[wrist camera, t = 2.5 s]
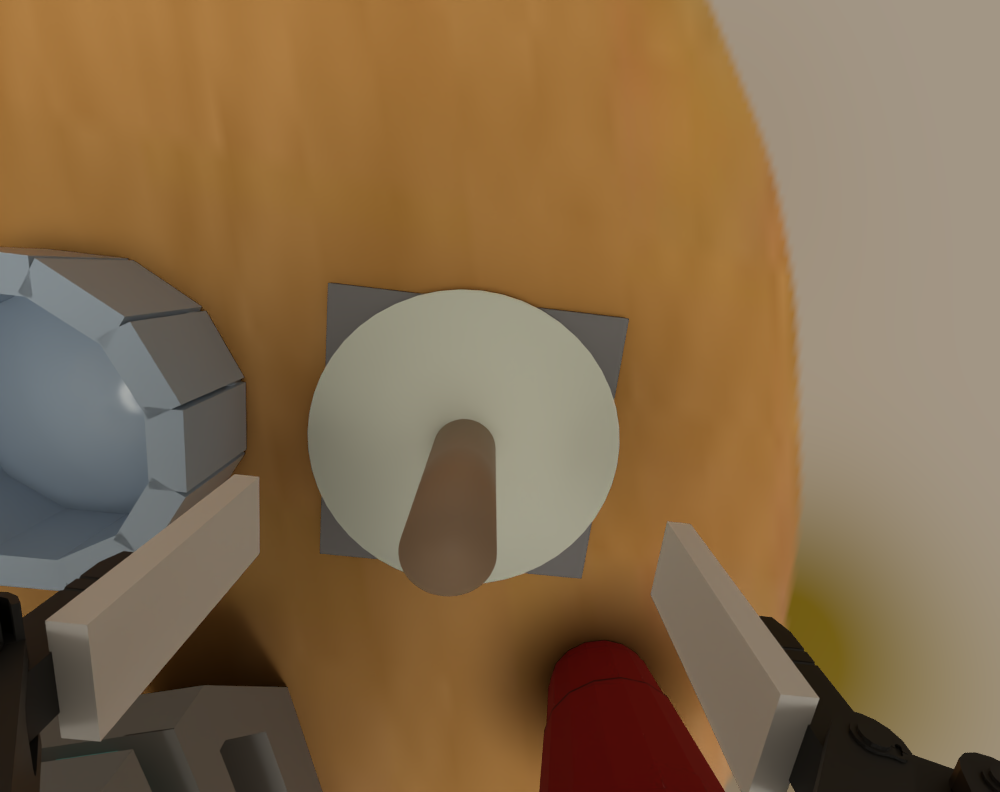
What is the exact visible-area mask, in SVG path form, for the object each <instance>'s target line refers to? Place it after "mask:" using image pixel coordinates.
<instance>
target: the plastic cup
mask: <svg viewBox="0 0 1000 792" xmlns="http://www.w3.org/2000/svg"><path fill="white" fill-rule="evenodd" d="M539 792H725V791H724V789H723V788H722V786H721V784H720V783H719V781H718V779H717V778H716V776H715V775H714V773H713V771H712V770H711V768H710V766H709V765H708V763H707V761H706V760H705V758H704V756H703V755H702V753H701V751H700V750H699V748H698V747H697V745H696V743H695V742H694V740H693V738H692V737H691V735H690V733H689V732H688V730H687V728H686V727H685V725H684V723H683V722H682V720H681V719H680V717H679V715H678V714H677V712H676V710H675V709H674V707H673V705H672V704H671V702H670V700H669V699H668V697H667V696H666V695H665V694H663V693H662V691H661V689H660V688H659V686H658V684H657V683H656V681H655V679H654V678H653V676H652V674H651V673H650V671H649V669H648V668H647V666H646V664H645V663H644V661H643V660H641V659H640V658H639V656H638V655H637V654H636V653H635V652H633V651H632V650H630V649H629V648H627V647H626V646H624V645H623V644H619V643H614V642H610V641H605V640H603V641H594V642H586V643H583V644H581V645H579V646H577V647H575V648H573V649H571V650H569V651H568V652H567V653H566V654H565V655H564V656H563V657H562V658H561V659H560V660H559V661H558V662H557V663H556V665H555V668H554V671H553V674H552V676H551V681H550V685H549V688H548V705H547V724H546V727H545V730H544V741H543V753H542V766H541V778H540V790H539Z"/></svg>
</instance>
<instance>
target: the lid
mask: <svg viewBox="0 0 1000 792" xmlns="http://www.w3.org/2000/svg"><path fill="white" fill-rule="evenodd" d="M308 451H309V456H310V462H311V467H312V471H313V474H314V477H315V480H316V483H317V486H318V489H319V491H320V493H321V495H322V497H323V499H324V501H325V503H326V505H327V507H328V509H329V510H330V512H331V513H332V515H333V516H334V518H335V519H336V521H337V522H338V523H339V524H340V525H341V527H342V528H343V529H344V530H345V531H346V532H347V534H348V535H349V536H350V537H351V538H352V539H353V540H355V541H356V542H357V543H358V544H359V545H360V546H361V547H362V548H363V549H365V550H366V551H368V552H369V553H370V554H372V555H373V556H375V557H376V558H378V559H379V560H381V561H383V562H384V563H386V564H388V565H390V566H392V567H394V568H396V569H398V570H400V571H403V572H404V573H405V575H406V576H407V577H408V578H409V580H410V581H411V582H412V583H413V584H415V585H416V586H417V587H419V588H420V589H422V590H424V591H426V592H429V593H431V594H435V595H440V596H457V595H462V594H465V593H468V592H471V591H473V590H475V589H476V588H478V587H479V586H481V585H482V584H483V583H488V582H494V581H499V580H504V579H508V578H511V577H514V576H517V575H521V574H524V573H526V572H528V571H530V570H533V569H535V568H537V567H539V566H541V565H543V564H545V563H546V562H548V561H550V560H551V559H553V558H555V557H556V556H558V555H559V554H560V553H561V552H563V551H564V550H565V549H567V548H568V547H569V546H570V545H572V544H573V543H574V542H575V541H576V540H577V539H578V538H579V537H580V536H581V534H582V533H583V532H584V531H585V530H586V529H587V528H588V526H589V525H590V524H591V522H592V521H593V520H594V518H595V517H596V516H597V514H598V512H599V510H600V509H601V507H602V505H603V503H604V502H605V500H606V497H607V495H608V492H609V490H610V488H611V485H612V483H613V479H614V475H615V471H616V467H617V462H618V454H619V423H618V417H617V411H616V406H615V403H614V399H613V396H612V393H611V390H610V387H609V385H608V383H607V381H606V379H605V376H604V374H603V372H602V370H601V369H600V367H599V365H598V364H597V362H596V361H595V359H594V358H593V356H592V355H591V353H590V352H589V351H588V350H587V348H586V347H585V346H584V345H583V344H582V343H581V341H580V340H579V339H578V338H577V337H576V336H575V335H574V334H573V333H571V332H570V331H569V330H568V329H567V328H566V327H565V326H563V325H562V324H561V323H560V322H559V321H557V320H556V319H554V318H553V317H551V316H550V315H548V314H547V313H545V312H544V311H542V310H540V309H538V308H536V307H534V306H532V305H530V304H528V303H526V302H524V301H521V300H518V299H515V298H512V297H509V296H506V295H503V294H498V293H493V292H488V291H483V290H466V289H457V290H444V291H436V292H432V293H427V294H423V295H418V296H415V297H413V298H410V299H407V300H404V301H402V302H399V303H396V304H394V305H392V306H390V307H388V308H387V309H385V310H383V311H381V312H379V313H377V314H376V315H374V316H373V317H371V318H370V319H369V320H367V321H366V322H365V323H363V324H362V325H360V326H359V327H358V328H357V329H356V330H355V331H354V332H353V333H352V334H351V335H350V336H349V337H348V338H347V339H346V340H345V341H344V342H343V343H342V344H341V346H340V347H339V348H338V349H337V351H336V352H335V353H334V354H333V356H332V357H331V359H330V361H329V362H328V364H327V366H326V368H325V369H324V371H323V373H322V374H321V377H320V379H319V382H318V384H317V387H316V390H315V392H314V395H313V400H312V404H311V408H310V412H309V422H308Z"/></svg>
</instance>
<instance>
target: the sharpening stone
mask: <svg viewBox="0 0 1000 792" xmlns="http://www.w3.org/2000/svg"><path fill="white" fill-rule="evenodd" d="M40 737H41V744H42V752H41V773H40V792H322V789H321V786H320V783H319V780H318V777H317V774H316V771H315V768H314V765H313V762H312V759H311V756H310V753H309V750H308V747H307V744H306V741H305V738H304V735H303V732H302V729H301V726H300V723H299V720H298V717H297V714H296V711H295V708H294V705H293V702H292V699H291V696H290V693H289V690H288V687H258V686H215V685H202V686H196V687H189V688H182V689H175V690H169V691H162V692H155V693H148V694H142V695H139V697H138V698H137V699H136V700H135V701H134V703H133V704H132V705H131V706H130V707H129V708H128V710H127V711H126V712H125V713H124V714H123V716H122V717H121V718H120V719H119V720H118V721H117V723H116V724H115V725H114V726H113V727H112V729H111V730H110V731H109V732H108V733H107V734H106V736H105V737H104V738H103V739H102V740H101V741H100V742H99V741H88V740H77V739H67V738H61V733H60V726H59V718H58V715H57V716H56V717H55V718H54V719H53V720H52V721H51V722H50V723H49V724H48V725H47V726H46V727H45V728H44V729H43V730H42V731H41V732H40Z"/></svg>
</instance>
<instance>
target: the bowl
mask: <svg viewBox="0 0 1000 792" xmlns="http://www.w3.org/2000/svg"><path fill="white" fill-rule="evenodd" d="M201 308H202V306H200V305H199V304H197V303H196V302H194V301H193V300H191V299H190V298H188V297H187V296H186V295H184V294H183V293H181V292H180V291H178V290H177V289H175V288H174V287H172V286H171V285H169V284H168V283H166V282H165V281H163V280H162V279H160V278H159V277H157V276H156V275H154V274H153V273H151V272H150V271H148V270H147V269H145V268H144V267H142V266H141V265H140V264H138V263H137V262H135V261H133V260H128V258H120V257H112V256H103V255H95V254H87V253H78V252H70V251H61V250H53V249H37V248H16V247H0V585H1V586H12V587H23V588H34V589H45V590H56V591H60V590H64V588H65V586H67V585H68V584H70V583H71V582H72V581H74V580H75V579H76V578H77V579H79V578H80V576H81V575H82V574H83V573H85V572H86V571H87V570H89V569H90V568H92V567H93V566H94V565H96V564H97V563H98V562H100V561H102V560H105V559H107V558H109V557H111V556H114V555H116V554H118V553H120V552H122V551H128V552H135V551H136V550H137V549H139V548H140V547H141V546H142V545H144V544H145V543H146V542H148V541H149V540H150V539H152V538H153V537H154V536H155V535H157V534H158V533H159V532H161V531H162V530H163V529H165V528H166V527H167V526H168V525H170V524H171V523H172V522H174V521H175V520H176V519H177V518H179V517H180V516H181V515H183V514H184V513H185V512H187V511H188V510H189V509H190V508H192V507H193V506H194V505H196V504H197V503H198V502H199V501H201V500H202V499H203V498H205V497H206V496H207V495H209V494H210V493H211V492H212V491H214V490H215V489H216V488H218V487H219V486H220V485H221V484H223V483H224V482H225V481H227V480H228V479H229V477H230V476H231V474H232V473H233V471H234V470H235V468H236V467H237V465H238V464H239V462H240V461H241V459H242V457H243V456H244V454H245V453H244V452H243V451H245V450H246V449H247V448H246V382H241V380H240V379H242V378H244V376H243V374H242V372H241V371H240V369H239V367H238V365H237V364H236V362H235V360H234V358H233V357H232V355H231V353H230V352H229V350H228V348H227V346H226V345H225V343H224V341H223V339H222V338H221V336H220V334H219V332H218V331H217V329H216V327H215V326H214V324H213V322H212V320H211V319H210V317H209V315H208V313H207V312H206V311H200V310H201Z"/></svg>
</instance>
